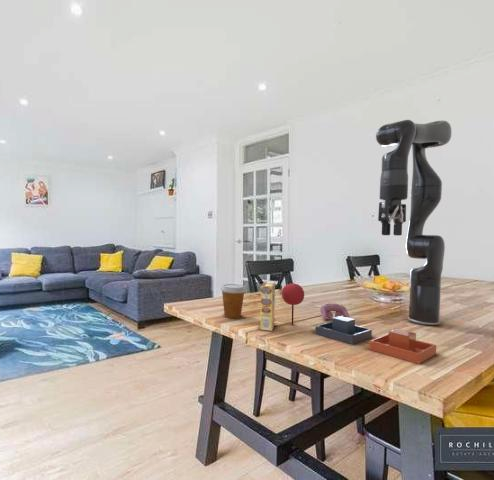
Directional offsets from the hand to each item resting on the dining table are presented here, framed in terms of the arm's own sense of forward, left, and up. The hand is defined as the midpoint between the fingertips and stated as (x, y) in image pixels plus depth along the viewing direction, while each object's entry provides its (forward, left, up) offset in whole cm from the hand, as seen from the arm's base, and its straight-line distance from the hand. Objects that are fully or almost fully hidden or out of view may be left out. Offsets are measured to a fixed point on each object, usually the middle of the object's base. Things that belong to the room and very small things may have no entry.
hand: (391, 235), depth 106 cm
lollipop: (+16, -25, -33) cm, 45 cm away
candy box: (+26, -28, -33) cm, 51 cm away
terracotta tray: (+12, +8, -33) cm, 36 cm away
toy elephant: (-5, -21, -33) cm, 40 cm away
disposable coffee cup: (+26, -45, -33) cm, 62 cm away
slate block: (+12, -9, -32) cm, 36 cm away
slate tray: (+12, -9, -33) cm, 36 cm away
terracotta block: (+12, +8, -32) cm, 36 cm away
